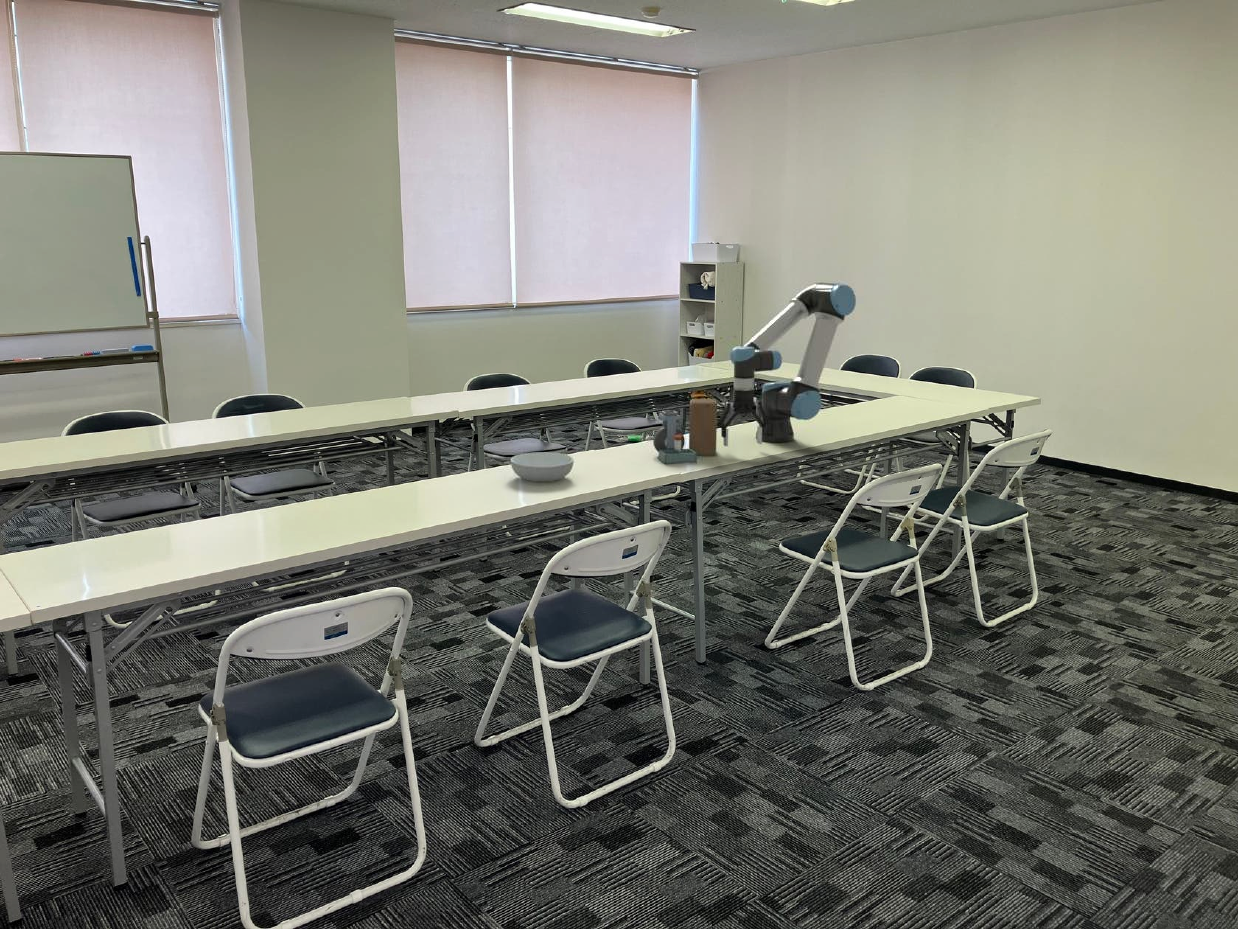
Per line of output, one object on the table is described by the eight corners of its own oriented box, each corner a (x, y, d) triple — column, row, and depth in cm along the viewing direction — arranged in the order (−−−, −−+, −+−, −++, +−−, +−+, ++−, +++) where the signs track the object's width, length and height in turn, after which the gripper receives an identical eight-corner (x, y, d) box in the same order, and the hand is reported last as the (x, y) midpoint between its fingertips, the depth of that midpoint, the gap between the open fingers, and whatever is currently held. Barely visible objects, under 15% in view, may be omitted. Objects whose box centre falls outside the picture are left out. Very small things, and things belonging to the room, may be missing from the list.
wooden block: (716, 456, 342) (717, 403, 337) (688, 456, 343) (689, 402, 338) (715, 451, 352) (716, 398, 347) (689, 450, 352) (690, 398, 348)
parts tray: (689, 457, 340) (690, 448, 339) (696, 462, 333) (697, 452, 332) (658, 459, 337) (658, 450, 336) (664, 464, 330) (665, 454, 329)
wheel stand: (680, 453, 348) (680, 409, 344) (685, 457, 342) (686, 412, 338) (651, 454, 345) (652, 411, 341) (657, 458, 339) (657, 413, 335)
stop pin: (680, 458, 337) (681, 434, 335) (683, 460, 334) (684, 435, 332) (671, 458, 336) (672, 434, 334) (674, 460, 333) (675, 436, 331)
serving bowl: (505, 486, 299) (505, 465, 297) (516, 471, 319) (516, 451, 318) (570, 487, 298) (570, 466, 296) (576, 472, 318) (576, 452, 316)
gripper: (770, 385, 352) (769, 440, 357) (708, 388, 346) (708, 444, 351) (779, 388, 345) (777, 444, 350) (715, 391, 339) (714, 448, 344)
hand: (742, 444), depth 350 cm, fingers open, 13 cm apart
